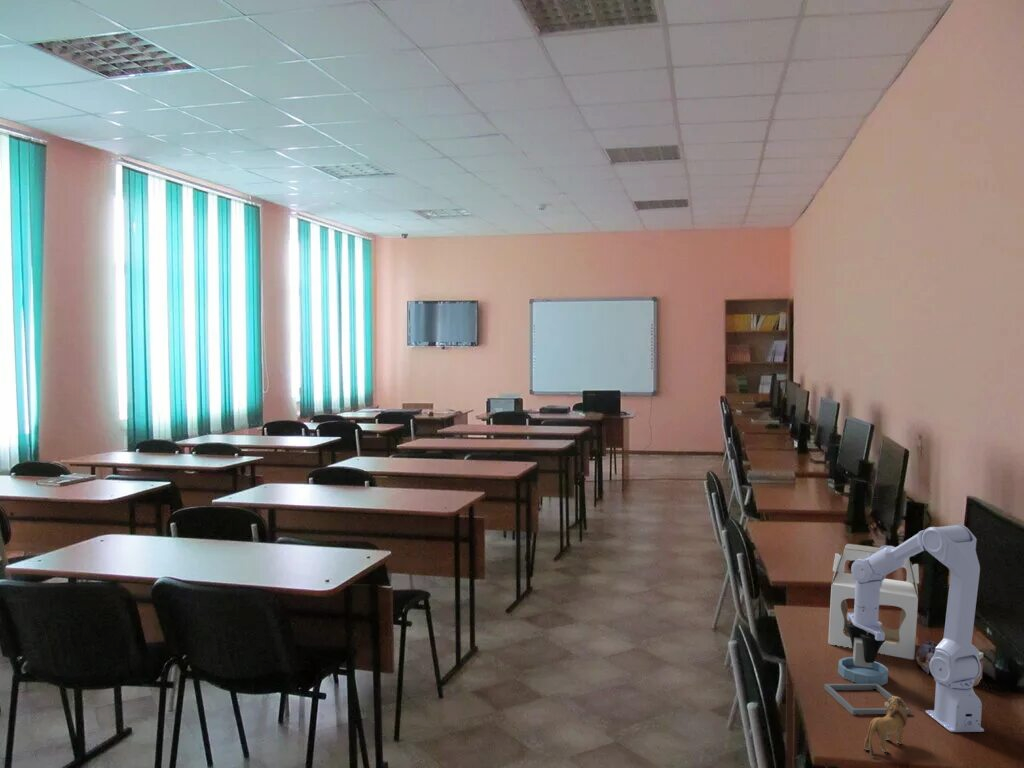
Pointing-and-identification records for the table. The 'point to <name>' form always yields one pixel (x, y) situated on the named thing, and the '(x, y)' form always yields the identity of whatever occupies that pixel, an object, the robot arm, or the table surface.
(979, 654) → the small box
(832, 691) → the tray
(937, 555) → the robot arm
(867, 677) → the bowl
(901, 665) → the table surface
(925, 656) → the skull
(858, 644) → the stone block
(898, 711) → the lion figurine
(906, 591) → the gable box
